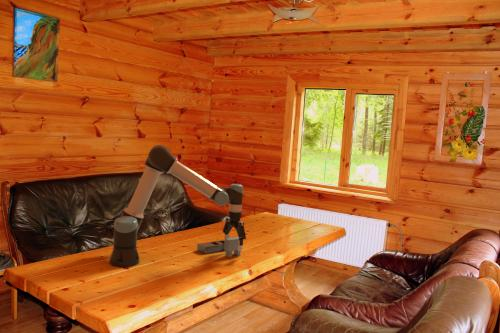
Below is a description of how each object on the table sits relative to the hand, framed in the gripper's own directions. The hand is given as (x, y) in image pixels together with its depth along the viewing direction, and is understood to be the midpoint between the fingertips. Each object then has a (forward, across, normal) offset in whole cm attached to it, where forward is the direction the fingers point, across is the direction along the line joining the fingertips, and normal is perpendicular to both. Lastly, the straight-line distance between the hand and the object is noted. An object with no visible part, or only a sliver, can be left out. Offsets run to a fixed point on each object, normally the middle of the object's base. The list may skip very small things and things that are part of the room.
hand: (233, 248), depth 250 cm
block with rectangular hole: (+4, +14, 0) cm, 15 cm away
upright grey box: (+4, 0, 0) cm, 4 cm away
